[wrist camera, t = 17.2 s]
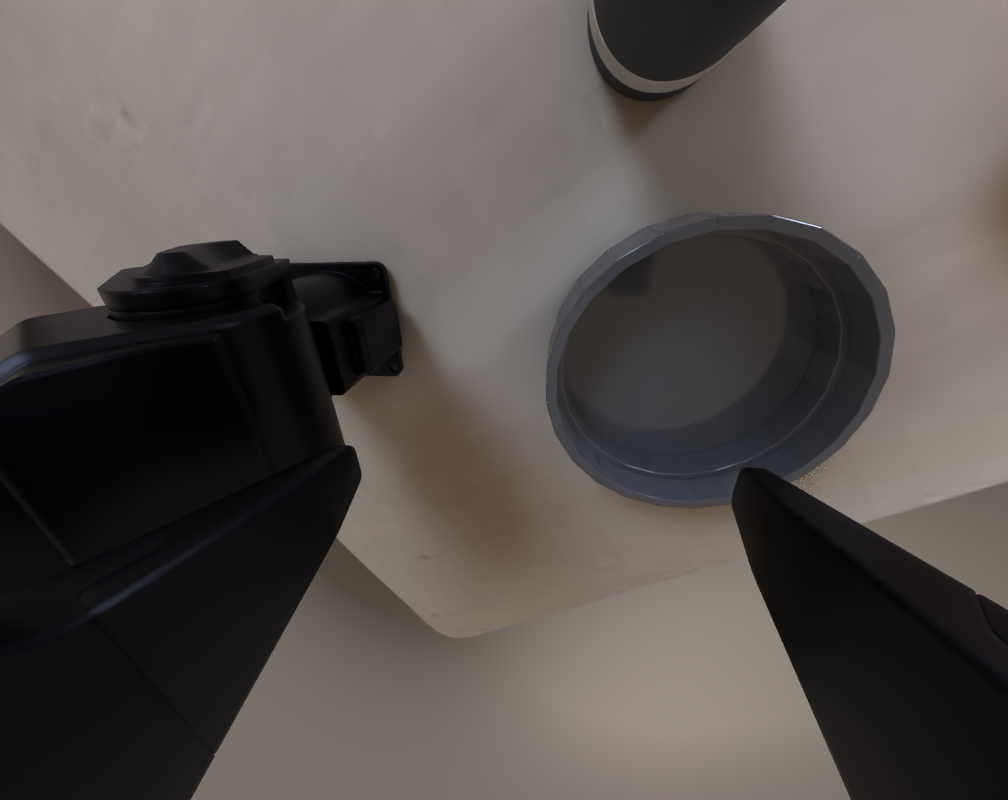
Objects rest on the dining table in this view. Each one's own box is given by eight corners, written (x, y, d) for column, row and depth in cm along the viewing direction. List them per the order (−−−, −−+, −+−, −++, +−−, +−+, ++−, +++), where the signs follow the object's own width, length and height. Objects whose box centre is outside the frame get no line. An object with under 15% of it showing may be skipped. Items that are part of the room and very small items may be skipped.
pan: (547, 456, 24) (544, 498, 21) (551, 218, 18) (549, 222, 14) (781, 468, 22) (821, 517, 19) (881, 206, 16) (970, 207, 12)
